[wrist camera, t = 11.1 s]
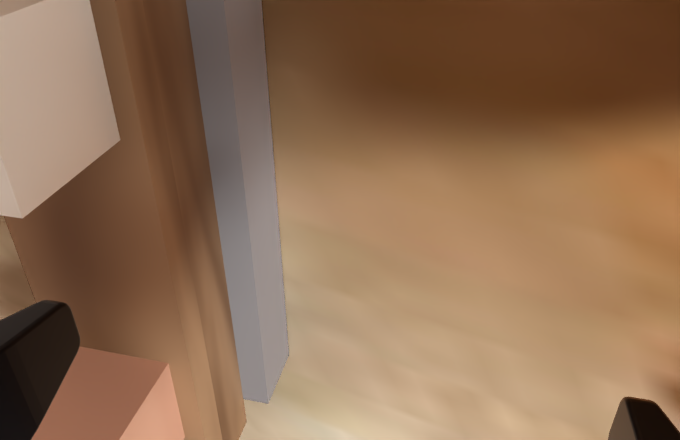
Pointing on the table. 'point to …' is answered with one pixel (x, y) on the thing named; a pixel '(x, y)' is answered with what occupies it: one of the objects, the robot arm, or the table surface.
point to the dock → (243, 181)
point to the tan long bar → (145, 224)
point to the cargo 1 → (49, 100)
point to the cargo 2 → (113, 400)
